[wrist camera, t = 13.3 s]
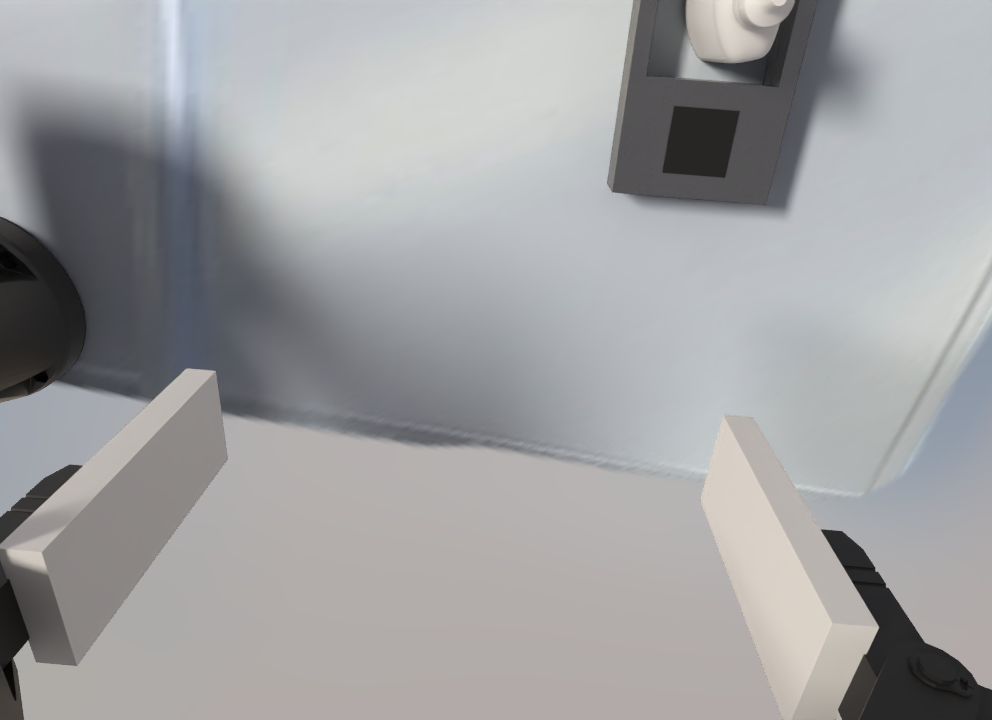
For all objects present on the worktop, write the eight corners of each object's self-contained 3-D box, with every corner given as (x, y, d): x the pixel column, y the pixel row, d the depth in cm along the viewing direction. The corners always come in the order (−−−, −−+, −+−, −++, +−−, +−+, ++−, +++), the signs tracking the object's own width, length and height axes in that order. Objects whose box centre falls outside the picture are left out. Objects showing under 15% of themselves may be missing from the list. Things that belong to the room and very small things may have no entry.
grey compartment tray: (607, 183, 45) (612, 192, 42) (666, -228, 35) (678, -252, 32) (751, 195, 45) (766, 205, 42) (851, -214, 35) (878, -237, 32)
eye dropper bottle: (660, 45, 41) (707, 45, 30) (701, -54, 38) (768, -93, 28) (723, 69, 41) (790, 78, 31) (767, -27, 39) (858, -54, 28)
